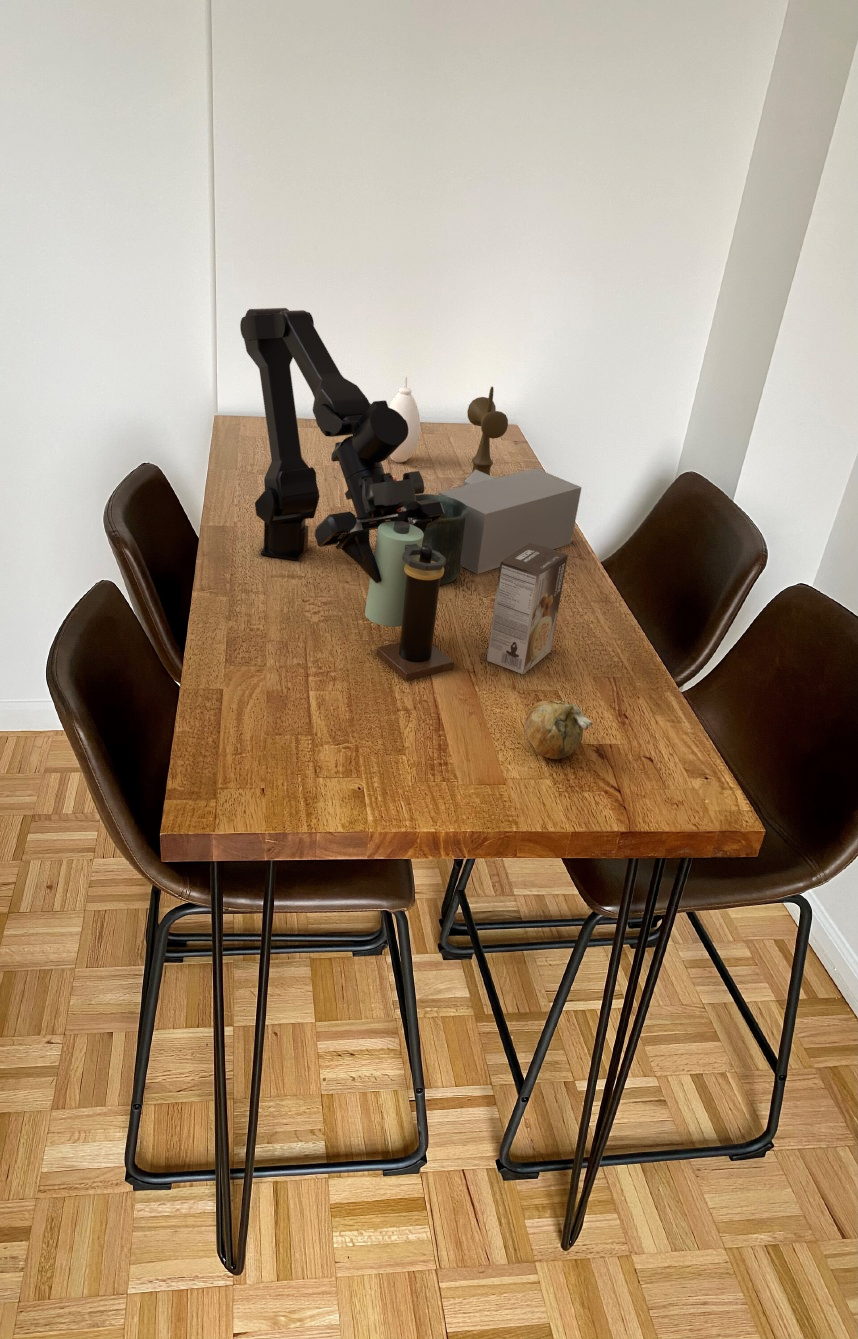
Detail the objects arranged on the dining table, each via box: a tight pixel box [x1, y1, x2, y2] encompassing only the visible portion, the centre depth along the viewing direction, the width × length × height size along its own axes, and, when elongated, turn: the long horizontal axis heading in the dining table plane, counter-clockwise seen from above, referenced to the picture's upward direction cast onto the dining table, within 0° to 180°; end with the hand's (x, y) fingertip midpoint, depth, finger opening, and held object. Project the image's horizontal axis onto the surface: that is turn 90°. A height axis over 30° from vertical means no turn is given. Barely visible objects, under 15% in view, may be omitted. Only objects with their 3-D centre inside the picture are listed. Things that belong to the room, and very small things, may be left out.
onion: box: [524, 700, 594, 760], centre depth 132 cm, size 8×8×8 cm
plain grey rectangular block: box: [437, 467, 582, 575], centre depth 189 cm, size 25×23×11 cm
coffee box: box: [486, 543, 569, 675], centre depth 150 cm, size 9×6×16 cm
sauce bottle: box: [388, 375, 421, 464], centre depth 217 cm, size 8×8×18 cm
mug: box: [385, 493, 469, 586], centre depth 172 cm, size 11×15×12 cm
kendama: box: [466, 386, 509, 478], centre depth 210 cm, size 6×10×20 cm, turn 15°
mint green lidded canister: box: [364, 521, 446, 628], centre depth 147 cm, size 13×6×14 cm, turn 29°
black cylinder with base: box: [375, 545, 455, 682], centre depth 145 cm, size 8×8×18 cm
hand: (399, 578), depth 148 cm, fingers closed on mint green lidded canister, 6 cm apart
